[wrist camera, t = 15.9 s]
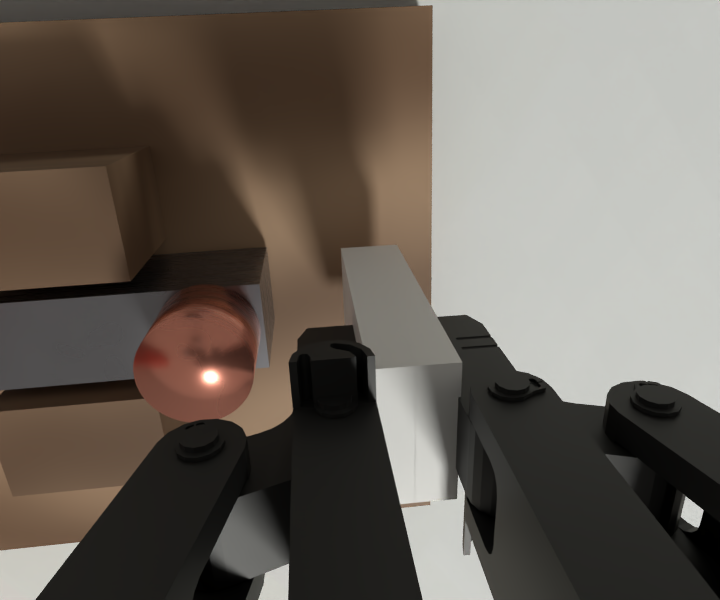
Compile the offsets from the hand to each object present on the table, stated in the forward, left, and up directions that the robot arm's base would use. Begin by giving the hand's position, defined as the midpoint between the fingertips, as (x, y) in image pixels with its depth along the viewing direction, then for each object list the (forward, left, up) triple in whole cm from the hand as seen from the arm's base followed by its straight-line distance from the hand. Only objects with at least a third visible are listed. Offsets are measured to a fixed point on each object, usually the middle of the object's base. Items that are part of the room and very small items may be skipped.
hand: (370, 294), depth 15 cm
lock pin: (0, -7, -2) cm, 7 cm away
